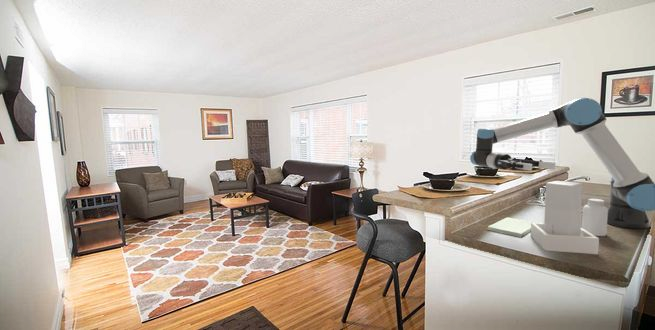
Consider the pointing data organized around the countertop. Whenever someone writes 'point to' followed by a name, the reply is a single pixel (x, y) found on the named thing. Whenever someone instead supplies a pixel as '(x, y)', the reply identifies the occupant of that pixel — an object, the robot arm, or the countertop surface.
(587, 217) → the pill bottle
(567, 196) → the tall white carton
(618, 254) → the countertop surface
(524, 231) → the cutting board
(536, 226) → the tray
